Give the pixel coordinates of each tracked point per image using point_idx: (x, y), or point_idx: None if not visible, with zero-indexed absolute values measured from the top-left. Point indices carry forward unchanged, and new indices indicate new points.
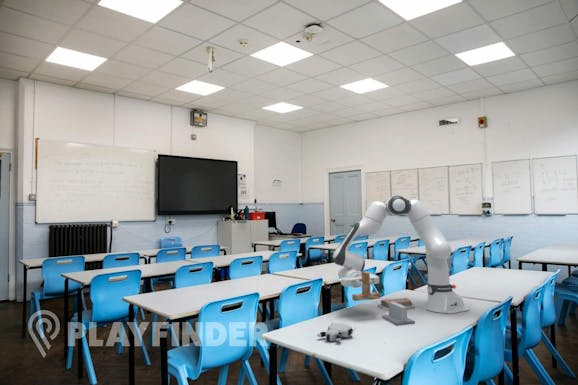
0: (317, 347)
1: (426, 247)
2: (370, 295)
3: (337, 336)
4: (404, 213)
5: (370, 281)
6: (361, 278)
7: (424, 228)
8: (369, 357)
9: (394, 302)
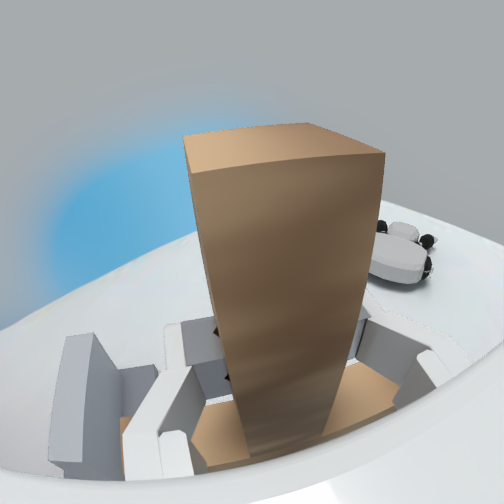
0: (413, 221)
1: None
2: (232, 405)
3: (384, 221)
4: None
5: (187, 321)
6: (367, 433)
7: None
8: None
9: (57, 437)
